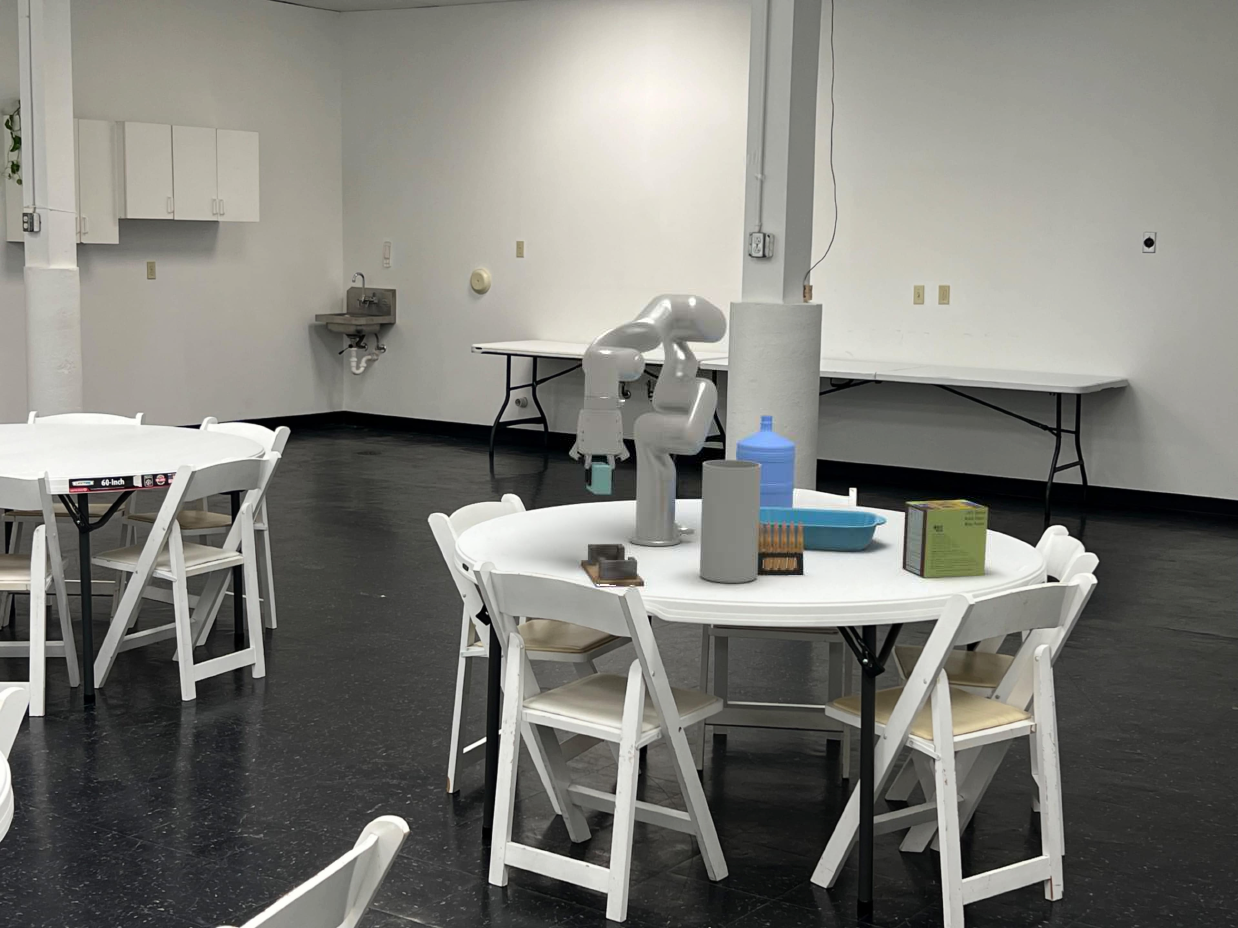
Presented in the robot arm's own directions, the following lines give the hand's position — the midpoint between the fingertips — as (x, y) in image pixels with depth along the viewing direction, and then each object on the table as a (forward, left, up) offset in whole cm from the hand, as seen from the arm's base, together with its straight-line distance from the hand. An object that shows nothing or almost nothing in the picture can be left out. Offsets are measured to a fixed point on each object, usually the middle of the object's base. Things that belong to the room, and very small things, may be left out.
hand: (598, 485), depth 314 cm
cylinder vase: (-26, +17, -18) cm, 36 cm away
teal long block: (0, +1, -1) cm, 1 cm away
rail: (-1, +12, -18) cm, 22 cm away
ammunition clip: (-38, +15, -18) cm, 45 cm away
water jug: (-53, -49, -18) cm, 74 cm away
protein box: (-76, +16, -18) cm, 80 cm away
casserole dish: (-56, -19, -18) cm, 62 cm away
